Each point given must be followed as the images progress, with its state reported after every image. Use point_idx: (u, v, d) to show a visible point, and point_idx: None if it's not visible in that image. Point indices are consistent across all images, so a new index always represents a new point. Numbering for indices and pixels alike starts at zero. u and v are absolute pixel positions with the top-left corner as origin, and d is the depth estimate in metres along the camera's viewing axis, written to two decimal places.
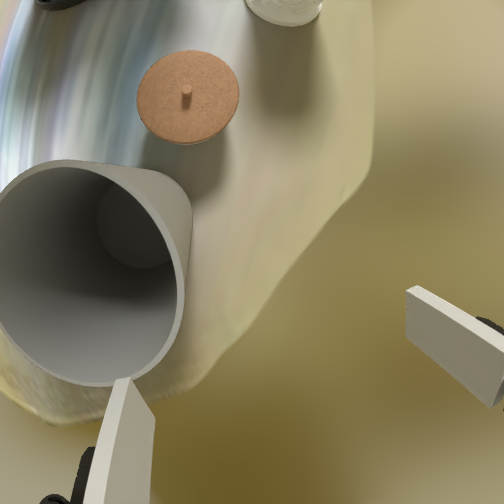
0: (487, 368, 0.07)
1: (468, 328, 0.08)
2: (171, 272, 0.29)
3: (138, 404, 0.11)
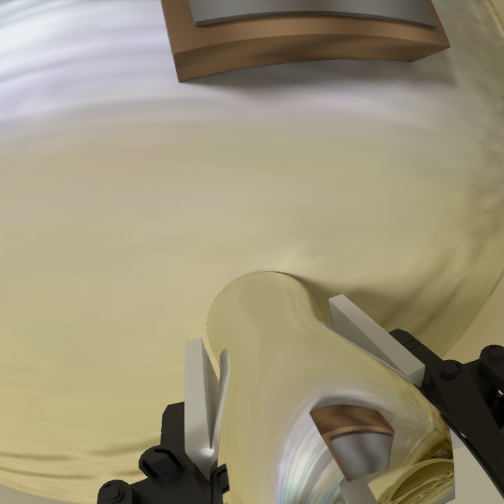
0: None
1: (374, 341, 0.10)
2: None
3: (208, 363, 0.13)
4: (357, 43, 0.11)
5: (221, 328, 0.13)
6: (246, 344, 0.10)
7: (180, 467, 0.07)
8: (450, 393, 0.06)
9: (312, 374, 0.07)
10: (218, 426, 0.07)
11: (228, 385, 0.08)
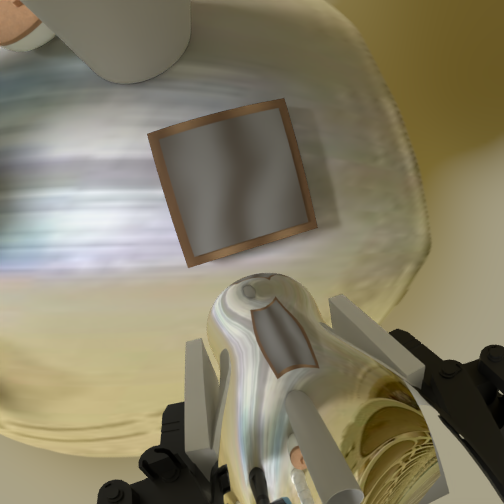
0: None
1: (374, 341, 0.10)
2: None
3: (208, 363, 0.13)
4: None
5: (221, 329, 0.13)
6: (246, 345, 0.10)
7: (180, 467, 0.07)
8: (450, 393, 0.06)
9: (312, 376, 0.07)
10: (218, 427, 0.07)
11: (228, 386, 0.08)
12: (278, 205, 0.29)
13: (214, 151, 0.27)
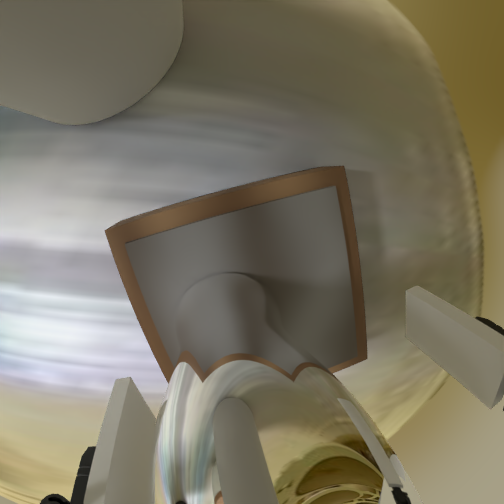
0: (487, 368, 0.07)
1: (468, 328, 0.08)
2: None
3: (138, 404, 0.11)
4: None
5: (182, 323, 0.14)
6: (195, 337, 0.11)
7: None
8: None
9: (231, 364, 0.08)
10: None
11: (174, 372, 0.10)
12: (320, 342, 0.19)
13: (223, 267, 0.16)
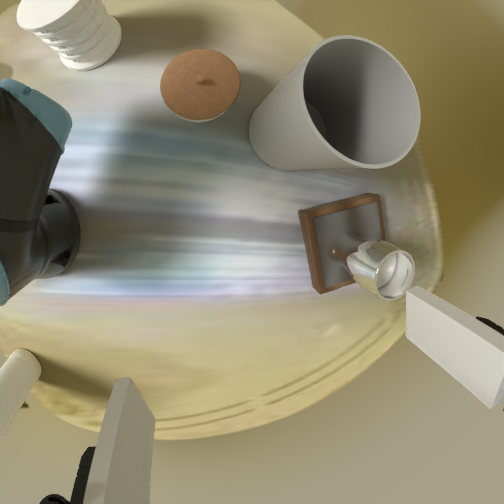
0: (487, 368, 0.07)
1: (468, 328, 0.08)
2: (334, 99, 0.36)
3: (138, 404, 0.11)
4: None
5: (336, 243, 0.45)
6: (349, 242, 0.42)
7: None
8: None
9: (368, 239, 0.38)
10: (351, 252, 0.39)
11: (349, 247, 0.40)
12: None
13: (343, 227, 0.47)
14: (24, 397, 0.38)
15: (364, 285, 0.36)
